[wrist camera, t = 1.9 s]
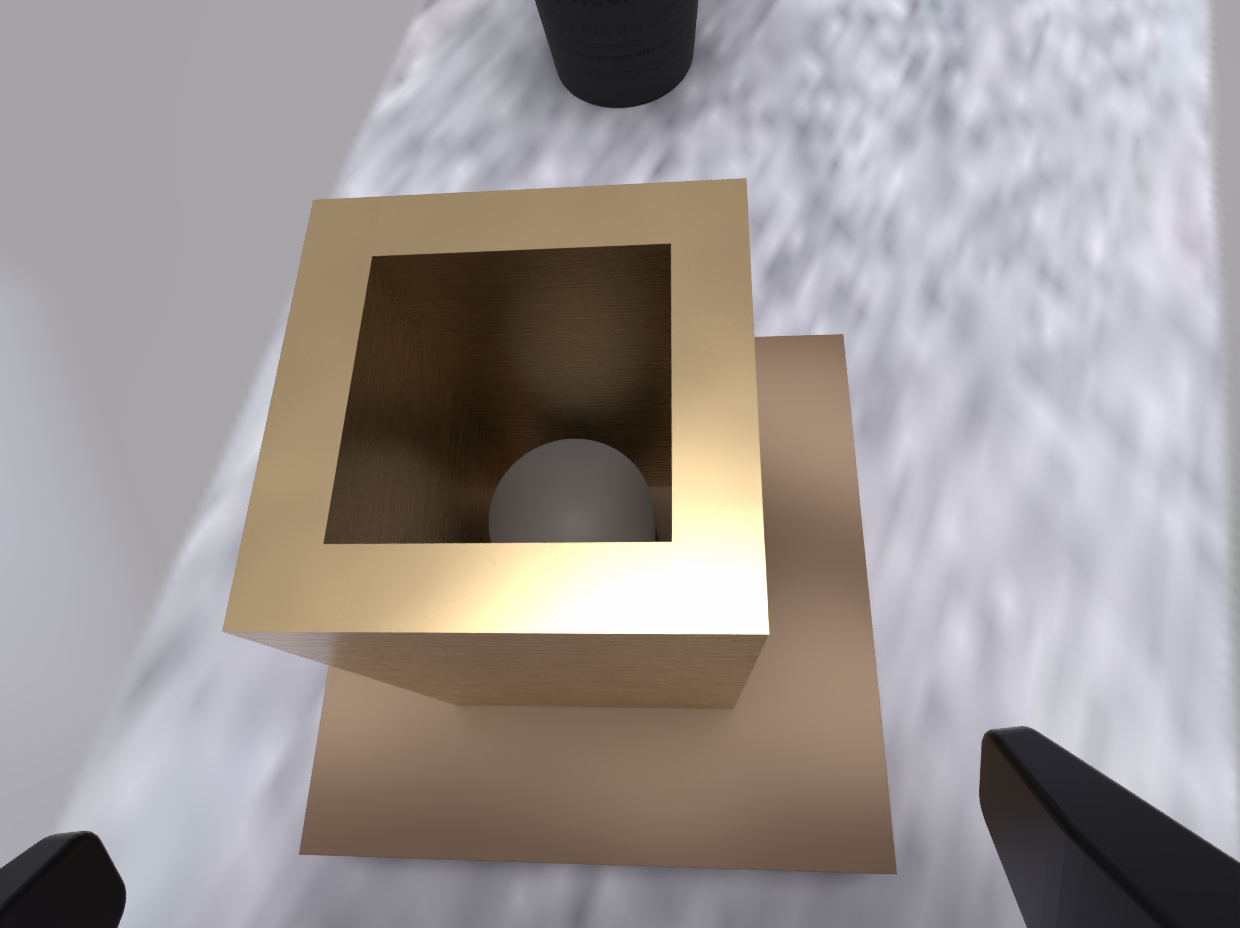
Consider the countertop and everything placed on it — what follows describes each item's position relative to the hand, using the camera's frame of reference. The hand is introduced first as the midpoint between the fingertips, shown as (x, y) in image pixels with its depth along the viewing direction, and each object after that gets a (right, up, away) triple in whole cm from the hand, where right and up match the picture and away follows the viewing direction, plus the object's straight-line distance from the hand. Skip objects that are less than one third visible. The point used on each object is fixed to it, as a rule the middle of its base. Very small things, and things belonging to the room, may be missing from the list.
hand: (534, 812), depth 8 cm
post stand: (+1, 0, +12) cm, 12 cm away
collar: (0, +1, +10) cm, 10 cm away
